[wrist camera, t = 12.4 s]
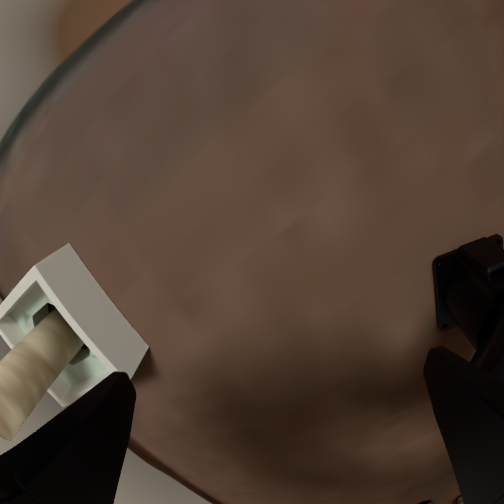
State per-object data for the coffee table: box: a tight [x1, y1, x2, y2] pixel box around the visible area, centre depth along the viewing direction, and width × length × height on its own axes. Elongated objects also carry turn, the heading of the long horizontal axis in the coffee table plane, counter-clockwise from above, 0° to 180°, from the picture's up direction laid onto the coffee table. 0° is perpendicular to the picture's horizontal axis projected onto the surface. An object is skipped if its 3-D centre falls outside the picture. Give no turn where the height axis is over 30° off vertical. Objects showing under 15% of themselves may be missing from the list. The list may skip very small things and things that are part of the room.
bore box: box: [0, 243, 149, 407], centre depth 22 cm, size 11×11×4 cm
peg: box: [0, 308, 84, 441], centre depth 18 cm, size 4×4×13 cm
